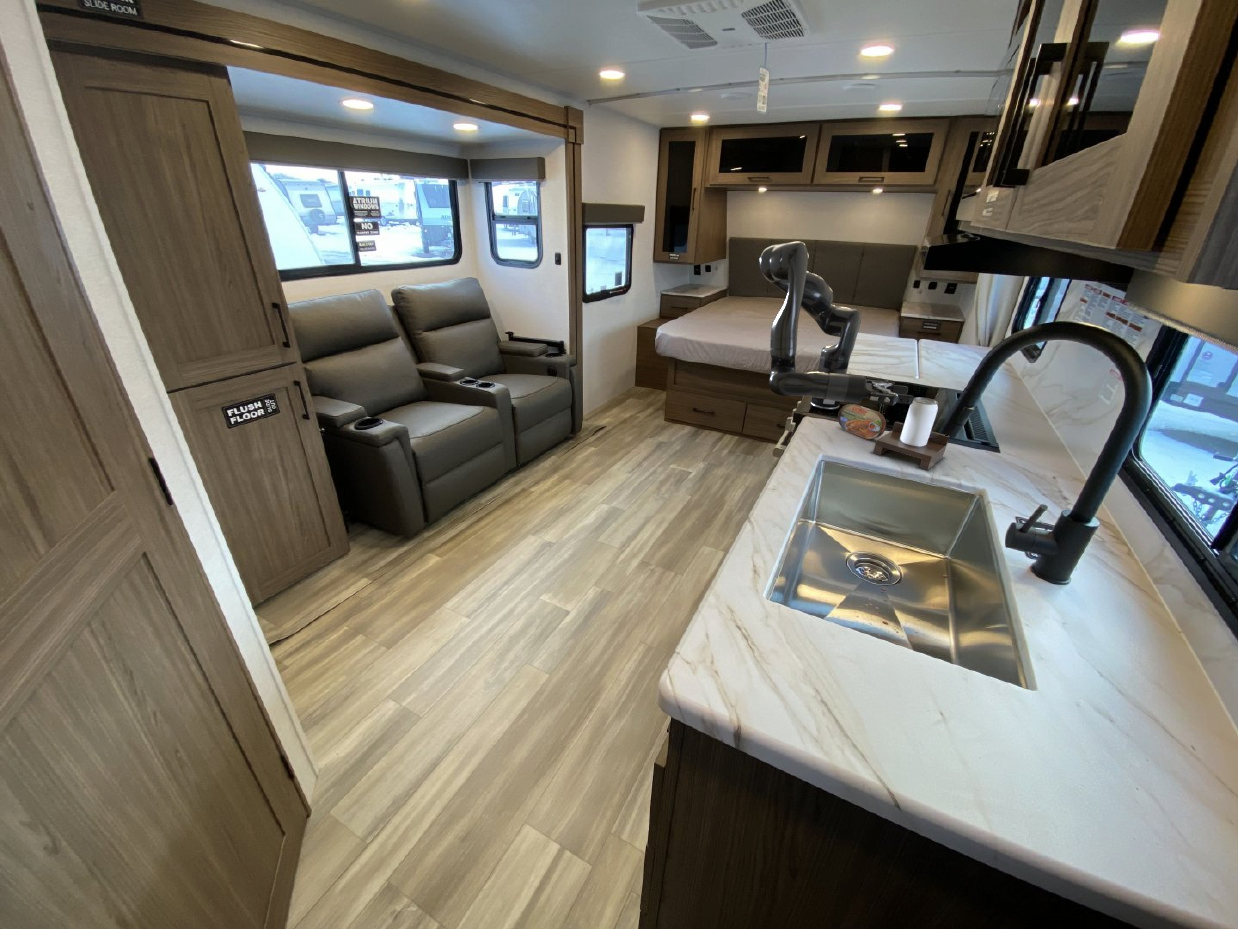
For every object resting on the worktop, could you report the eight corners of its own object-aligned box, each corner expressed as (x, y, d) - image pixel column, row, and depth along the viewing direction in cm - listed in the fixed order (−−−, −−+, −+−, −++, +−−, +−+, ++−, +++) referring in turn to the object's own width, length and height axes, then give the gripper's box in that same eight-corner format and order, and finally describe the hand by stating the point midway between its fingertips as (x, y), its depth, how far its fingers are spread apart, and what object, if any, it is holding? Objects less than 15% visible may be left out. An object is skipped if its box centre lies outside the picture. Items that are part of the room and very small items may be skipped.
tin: (834, 426, 155) (840, 400, 152) (841, 424, 157) (847, 399, 153) (876, 443, 144) (883, 416, 140) (883, 442, 145) (891, 415, 141)
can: (919, 438, 137) (932, 397, 132) (930, 448, 132) (944, 405, 126) (895, 437, 138) (907, 396, 133) (905, 446, 132) (918, 404, 127)
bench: (890, 442, 145) (895, 421, 142) (942, 457, 136) (950, 436, 133) (872, 453, 138) (878, 431, 135) (927, 470, 128) (934, 447, 126)
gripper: (849, 381, 127) (919, 389, 123) (846, 368, 139) (909, 374, 135) (842, 409, 131) (910, 417, 126) (840, 393, 143) (902, 400, 138)
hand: (910, 395), depth 130 cm, fingers open, 8 cm apart
